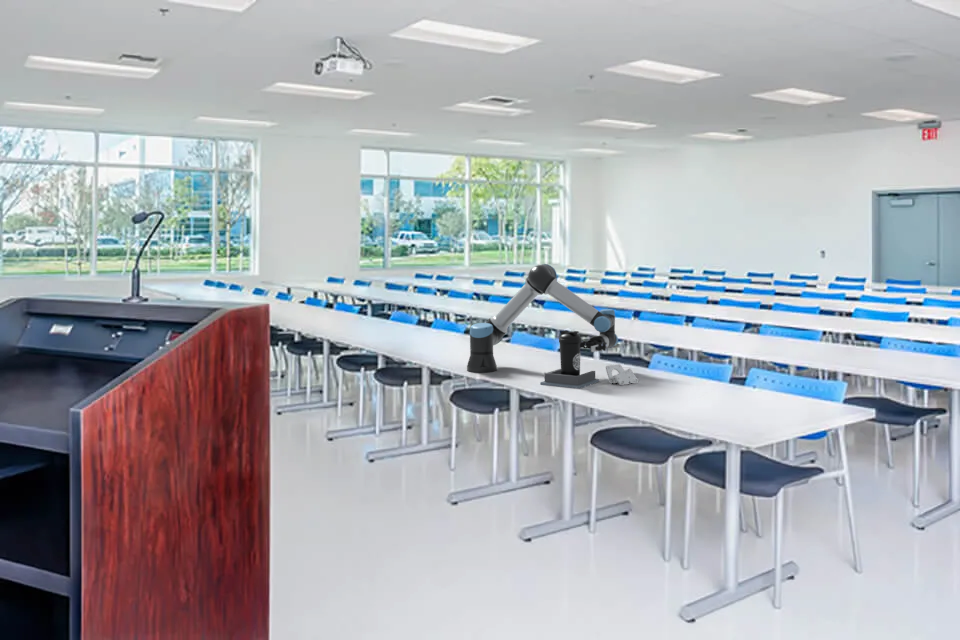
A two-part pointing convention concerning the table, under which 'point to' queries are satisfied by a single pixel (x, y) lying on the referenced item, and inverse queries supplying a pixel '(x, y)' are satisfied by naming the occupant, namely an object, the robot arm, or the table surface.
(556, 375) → the walled base tray
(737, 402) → the table surface
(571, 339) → the water bottle
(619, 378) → the mounting bracket
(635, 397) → the table surface
